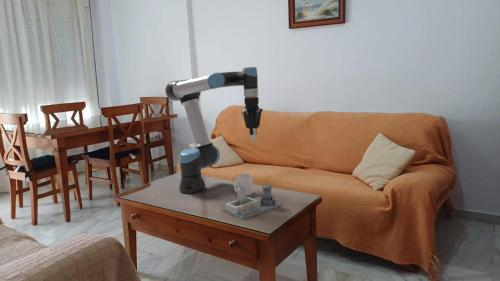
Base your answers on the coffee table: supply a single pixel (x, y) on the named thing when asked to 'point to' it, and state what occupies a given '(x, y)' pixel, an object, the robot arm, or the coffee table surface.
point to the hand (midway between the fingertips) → (253, 140)
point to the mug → (244, 183)
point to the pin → (241, 195)
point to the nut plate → (250, 205)
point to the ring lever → (267, 201)
